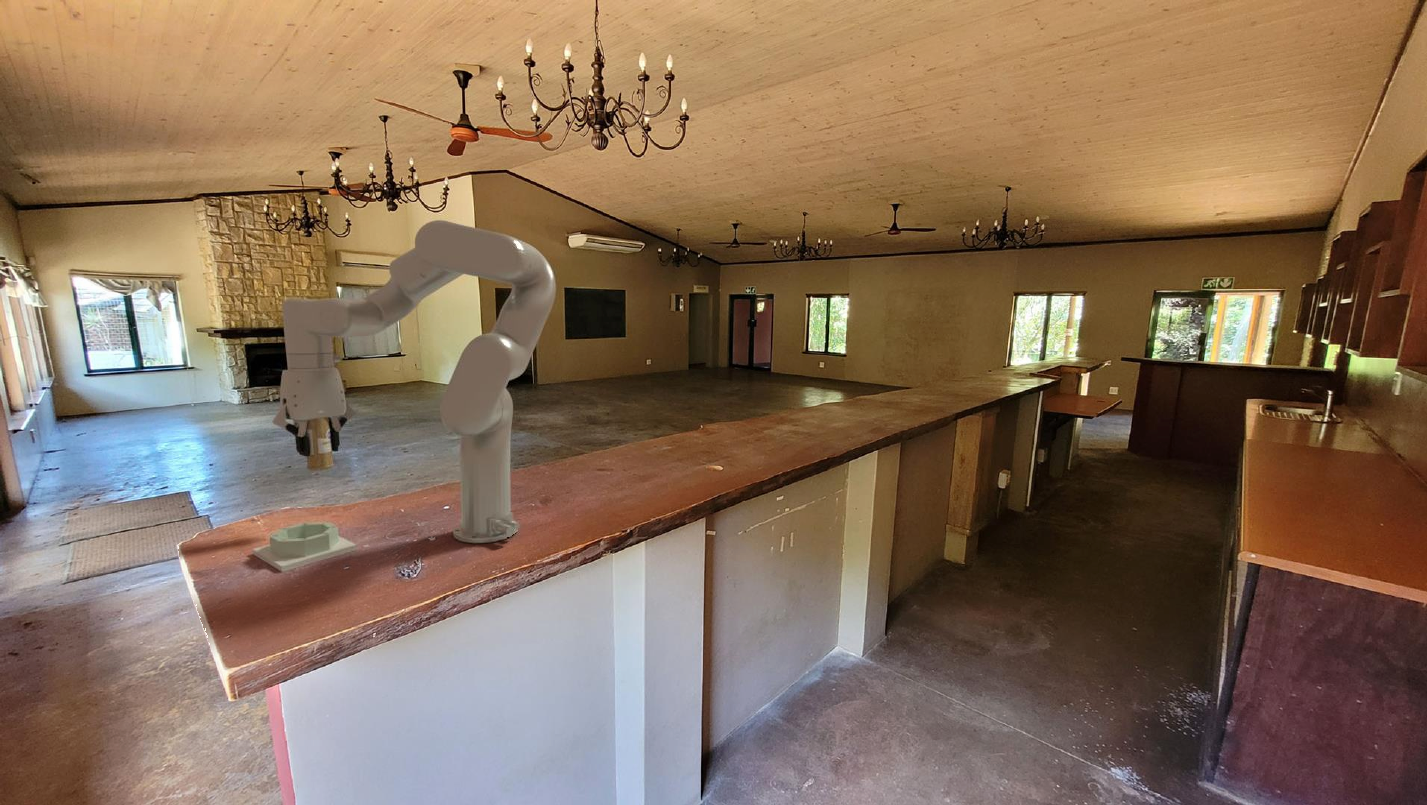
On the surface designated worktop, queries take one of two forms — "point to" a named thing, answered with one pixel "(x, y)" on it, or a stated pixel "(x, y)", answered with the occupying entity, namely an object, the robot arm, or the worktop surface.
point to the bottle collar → (303, 545)
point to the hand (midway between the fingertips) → (319, 451)
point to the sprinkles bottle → (319, 444)
